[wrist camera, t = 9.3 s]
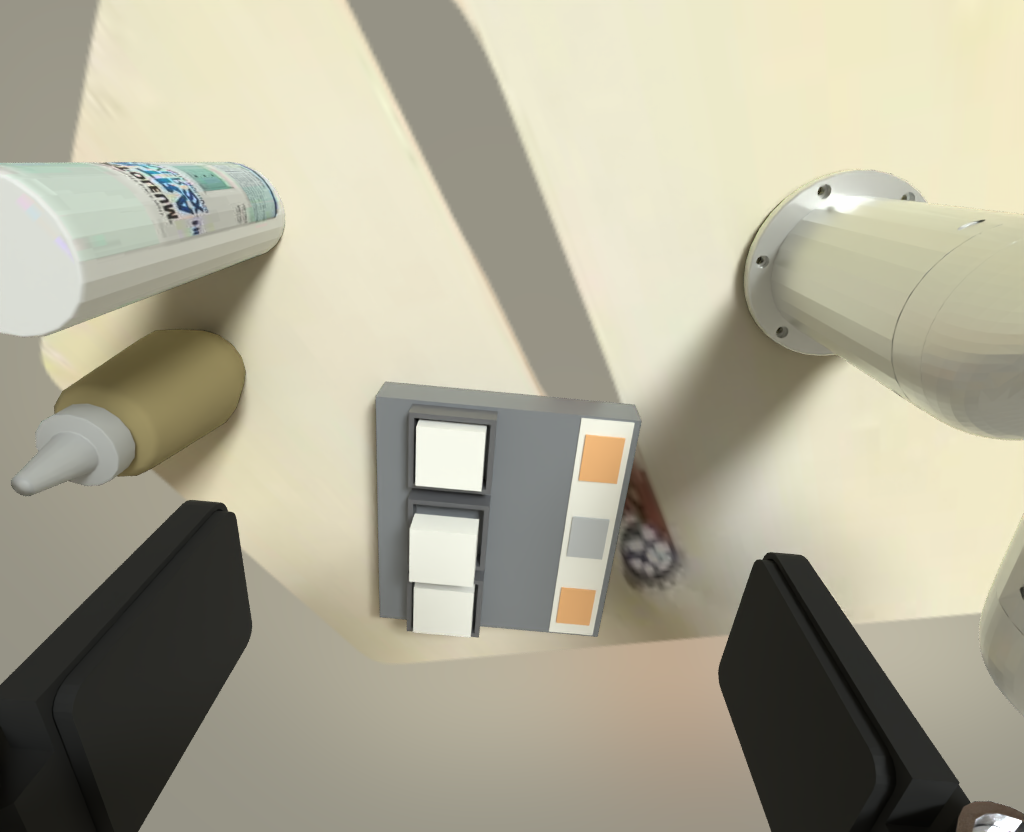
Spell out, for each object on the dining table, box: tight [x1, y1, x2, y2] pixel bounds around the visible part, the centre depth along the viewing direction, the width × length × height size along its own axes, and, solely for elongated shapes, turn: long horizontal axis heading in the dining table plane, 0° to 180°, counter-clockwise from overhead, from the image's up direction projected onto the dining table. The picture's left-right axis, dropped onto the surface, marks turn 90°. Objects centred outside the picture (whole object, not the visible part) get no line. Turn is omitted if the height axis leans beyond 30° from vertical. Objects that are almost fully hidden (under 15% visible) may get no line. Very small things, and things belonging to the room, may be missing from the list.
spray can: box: [0, 162, 285, 338], centre depth 30 cm, size 6×6×20 cm
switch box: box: [376, 382, 641, 637], centre depth 47 cm, size 20×22×5 cm
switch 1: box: [415, 418, 487, 492], centre depth 42 cm, size 5×5×2 cm
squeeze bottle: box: [11, 329, 246, 496], centre depth 36 cm, size 8×8×18 cm
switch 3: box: [413, 582, 475, 637], centre depth 48 cm, size 5×5×2 cm
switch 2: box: [409, 513, 479, 587], centre depth 43 cm, size 5×5×2 cm
